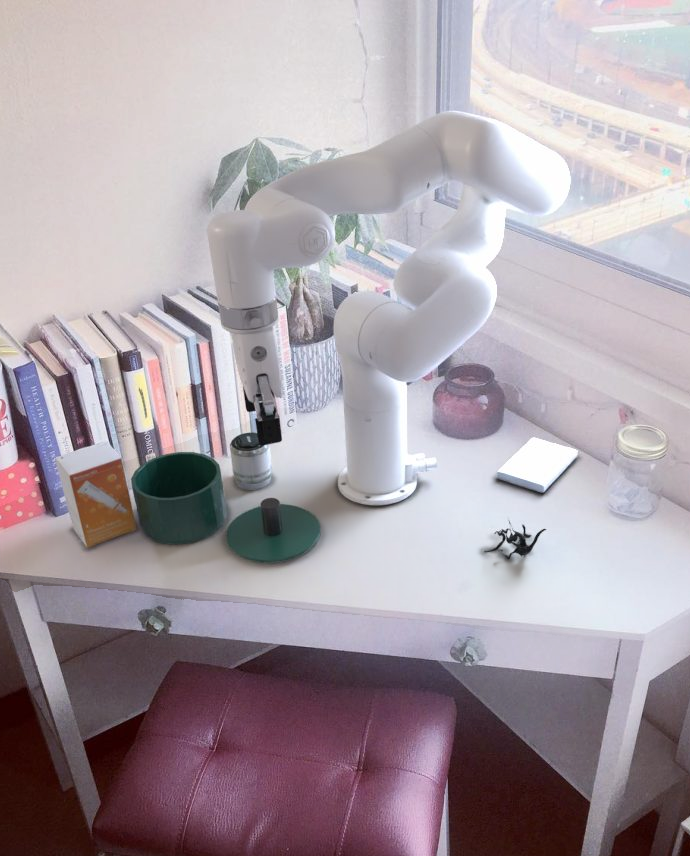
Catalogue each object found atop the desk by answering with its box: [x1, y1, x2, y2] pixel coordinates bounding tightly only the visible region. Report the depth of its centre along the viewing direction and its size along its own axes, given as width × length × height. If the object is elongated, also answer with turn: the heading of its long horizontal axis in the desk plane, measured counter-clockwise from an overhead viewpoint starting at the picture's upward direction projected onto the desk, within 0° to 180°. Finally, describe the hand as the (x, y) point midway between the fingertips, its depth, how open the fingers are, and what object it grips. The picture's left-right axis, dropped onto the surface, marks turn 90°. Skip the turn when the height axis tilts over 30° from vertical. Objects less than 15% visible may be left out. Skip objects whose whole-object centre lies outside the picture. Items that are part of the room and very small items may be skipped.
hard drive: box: [496, 437, 578, 494], centre depth 146 cm, size 2×8×12 cm
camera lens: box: [229, 432, 273, 491], centre depth 145 cm, size 6×6×8 cm
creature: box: [483, 518, 547, 560], centre depth 128 cm, size 8×5×8 cm
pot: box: [130, 451, 228, 545], centre depth 137 cm, size 13×13×8 cm
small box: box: [54, 440, 137, 549], centre depth 134 cm, size 8×6×13 cm
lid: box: [225, 497, 321, 564], centre depth 133 cm, size 14×14×6 cm
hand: (263, 425), depth 127 cm, fingers open, 9 cm apart
